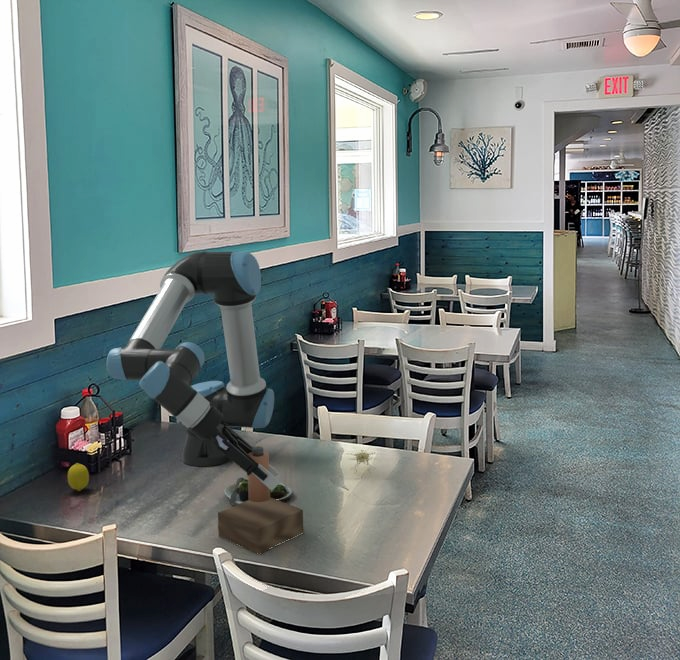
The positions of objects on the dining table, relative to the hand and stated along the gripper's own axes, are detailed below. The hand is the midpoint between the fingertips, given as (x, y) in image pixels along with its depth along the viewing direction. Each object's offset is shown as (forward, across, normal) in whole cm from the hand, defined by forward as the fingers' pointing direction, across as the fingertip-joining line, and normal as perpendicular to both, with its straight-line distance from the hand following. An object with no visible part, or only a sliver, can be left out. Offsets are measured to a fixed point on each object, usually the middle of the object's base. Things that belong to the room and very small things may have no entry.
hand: (275, 481), depth 176 cm
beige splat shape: (+28, -37, +9) cm, 47 cm away
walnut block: (+7, 0, -12) cm, 14 cm away
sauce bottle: (0, 0, -5) cm, 5 cm away
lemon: (-27, -36, -46) cm, 64 cm away
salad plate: (+7, -24, -12) cm, 28 cm away
